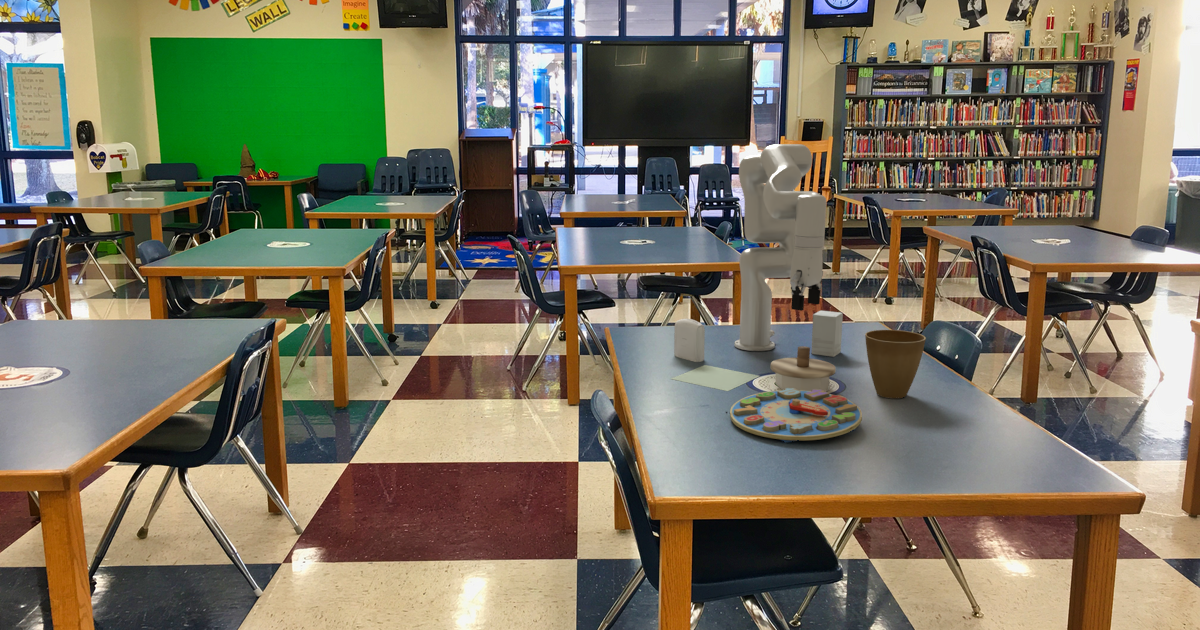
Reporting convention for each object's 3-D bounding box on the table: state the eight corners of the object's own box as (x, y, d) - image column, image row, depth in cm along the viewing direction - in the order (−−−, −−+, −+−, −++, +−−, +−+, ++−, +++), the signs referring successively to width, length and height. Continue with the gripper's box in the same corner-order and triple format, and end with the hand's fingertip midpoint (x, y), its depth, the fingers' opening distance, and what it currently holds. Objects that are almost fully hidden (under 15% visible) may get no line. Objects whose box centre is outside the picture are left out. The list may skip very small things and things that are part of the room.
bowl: (790, 377, 246) (791, 360, 245) (834, 386, 238) (835, 368, 237) (768, 388, 236) (769, 370, 235) (813, 398, 228) (815, 379, 227)
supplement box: (841, 352, 274) (844, 312, 271) (833, 357, 267) (836, 316, 265) (818, 348, 277) (820, 309, 275) (810, 354, 271) (812, 314, 269)
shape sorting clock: (706, 412, 218) (706, 389, 216) (808, 397, 230) (809, 375, 228) (777, 455, 190) (778, 428, 189) (889, 435, 202) (891, 410, 201)
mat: (704, 366, 257) (704, 364, 256) (760, 377, 246) (760, 375, 246) (670, 380, 243) (670, 378, 243) (727, 393, 232) (727, 391, 232)
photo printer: (671, 357, 267) (672, 317, 264) (681, 355, 270) (682, 315, 267) (696, 364, 259) (697, 323, 257) (706, 362, 262) (707, 321, 259)
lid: (787, 357, 248) (789, 337, 246) (845, 368, 238) (847, 346, 236) (759, 370, 235) (760, 349, 233) (818, 382, 224) (820, 359, 223)
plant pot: (929, 393, 232) (935, 334, 228) (906, 407, 221) (911, 345, 218) (876, 382, 242) (880, 326, 238) (851, 394, 231) (855, 335, 227)
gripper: (810, 237, 238) (806, 299, 241) (780, 244, 224) (777, 310, 228) (836, 240, 233) (832, 303, 237) (808, 247, 220) (804, 314, 224)
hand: (805, 306), depth 233 cm, fingers open, 9 cm apart
